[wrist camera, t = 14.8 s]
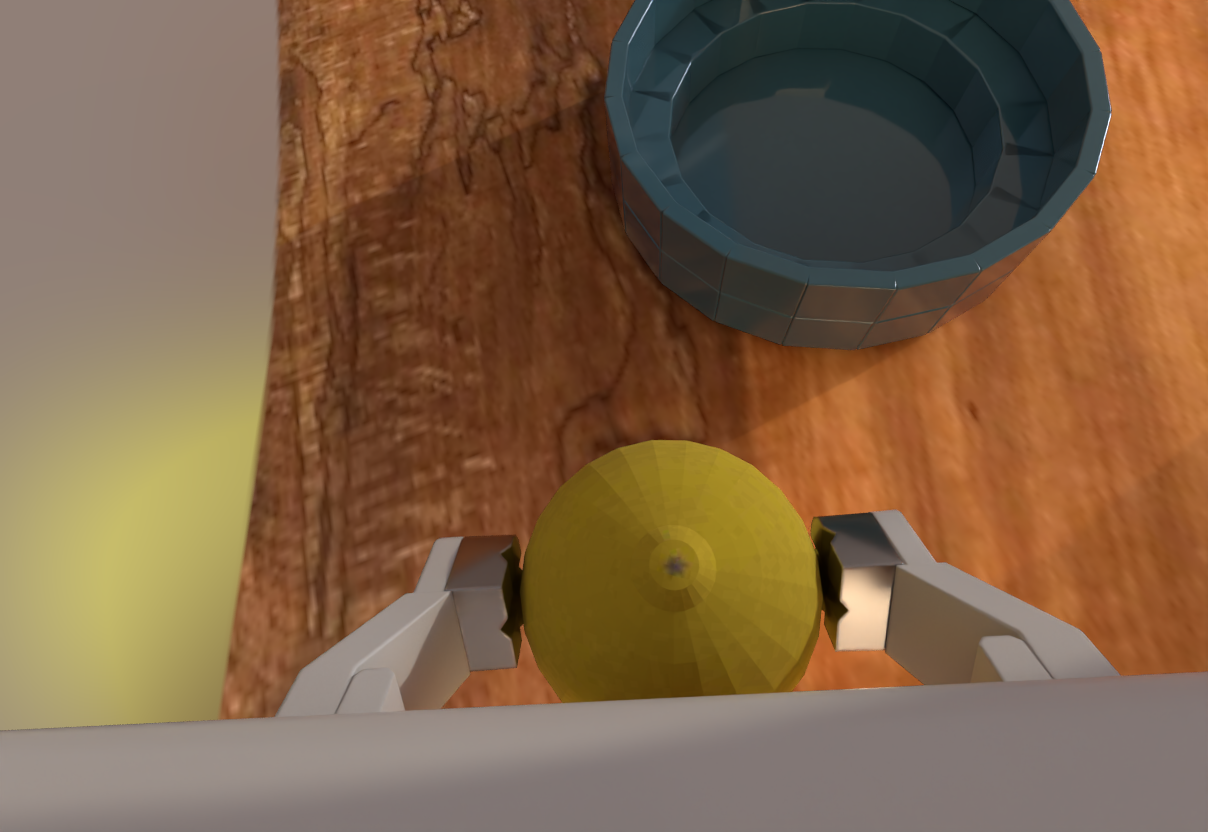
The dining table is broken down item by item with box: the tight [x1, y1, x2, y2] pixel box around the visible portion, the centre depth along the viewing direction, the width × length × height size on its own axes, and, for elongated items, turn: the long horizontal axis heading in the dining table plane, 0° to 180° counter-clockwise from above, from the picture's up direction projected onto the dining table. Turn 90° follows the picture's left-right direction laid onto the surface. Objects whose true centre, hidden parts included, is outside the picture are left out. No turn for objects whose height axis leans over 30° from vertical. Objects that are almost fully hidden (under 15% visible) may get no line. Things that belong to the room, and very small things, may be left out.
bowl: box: [604, 0, 1112, 350], centre depth 23 cm, size 15×15×4 cm
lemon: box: [520, 440, 823, 703], centre depth 13 cm, size 6×6×8 cm
